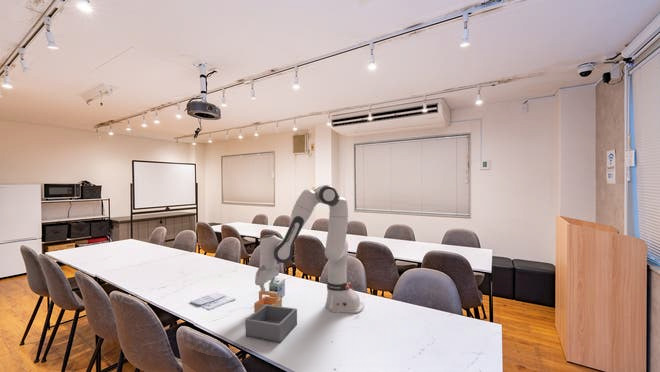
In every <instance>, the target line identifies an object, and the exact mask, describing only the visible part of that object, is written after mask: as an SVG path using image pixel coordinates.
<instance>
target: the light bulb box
mask: <svg viewBox="0 0 660 372" xmlns="http://www.w3.org/2000/svg"><path fill="white" fill-rule="evenodd" d="M285 283H286V280H285V278H281V277H275V280H274V285H272V286H270V282H269V283H268V291H272V292H278V298H282V299H283V298H284V296H285V295H286V284H285ZM268 296H269V297H274V296H270V295H268Z"/></svg>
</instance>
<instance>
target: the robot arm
mask: <svg viewBox="0 0 660 372" xmlns="http://www.w3.org/2000/svg"><path fill="white" fill-rule="evenodd" d="M346 199H347V198H344V197H341V196H340V195H339V193H338V191H337V189H336V188H335V187H334V186H331V185H330V184H329V185H328V184H323V185H321V186H318V187H317V188H315V189H314V190H312V189H310V188H309V189H308V188H307V189H304V190H303V191H302V192H301V193H300V195H299V196H298V198H297V200H296V201H295V203H294V206H293V209H292V211H291V214H290V222H289V223H290V224H289V227H288V229H287V231H286V233H285V235H284V238H281V237H279V236H277V235H275V234H271V233H270V234H267V235H263V237H261V239H260V243H259V253H260V257H259V267H258V268H257V271H256V272H255V277H254V278H255V279H254V284H255V285H256V286H259V287H260V290H261V291H262V292H263V291H266V287H265V284H266V283H267V282H269V281H270V282H269V283H270V286H272V285H274V280H275V278H277V277H278V276H279V274H280V263H281V264H286V263H288V262H290V261H291V259H292V258H293V255H294V245H295V243H296V241H297V239H298V237H299V234H300V233H301V230H302V229H303V228H304V226H305V225H306V223H307V222H308V220H309V219H310V218H311V216H312V214H313V212H314V209H315V207H316V206H317V205H318V204H324V205H327V206H328V208H329V212H328V214H329V215H328V230H327V236H326V242H325V248H324V255H325V256H324V257H325V258H326V259H328V265H327V281H326V290H327V293H326V294H327V296H326V301H325V308H327V309H328V310H329V311H330V312H331V313H345V314H347V313H349V314H350V313H351V314H359V313H361V312H362V311H363V309H364V307H365V303H364V301H361V300H360V295H359V294H358V293H357V292H356V291H355V290H354V289H352V288H351V282H350V281H347V268H348V267H347V265H348V253H349V251H348V250H349V244H348V241H347V239H346V238H347V232H348V222H349V221H348V219H349V216H348V215H349V206H348V200H346Z"/></svg>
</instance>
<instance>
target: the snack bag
mask: <svg viewBox="0 0 660 372" xmlns="http://www.w3.org/2000/svg"><path fill="white" fill-rule="evenodd" d="M236 299H237V298H234V297H231V296H227V295H226V294H225V293H224V294H223V293H220V292H218V291H216V292H215V291H214V292H212V293H210V294H207V295H204V296H202V297H199V298H196V299H194V300H191V301H189V302H190V304H192V305H195V306H198V307H199V308H202V309H205V310H207V311H211V310H214V309H216V308H218V307H221V306H224V305H227V304H228V303H231V302H234V301H236Z"/></svg>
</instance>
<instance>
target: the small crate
mask: <svg viewBox="0 0 660 372" xmlns="http://www.w3.org/2000/svg"><path fill="white" fill-rule="evenodd" d="M269 295H270V296H274V297H269ZM282 300H283V298H278V292H272V291H269V290H265V291H263V292H262V291H261V289H260V290H259V291H258V300H257V301H256V302H254V303H253V304H254V306H253V309H254V313H255V312H257V311H258V310H259V309H261V308H262V307H263V306H265V305H266V304H267V305H274V306H281V307H283V301H282ZM254 313H253V314H254Z"/></svg>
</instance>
